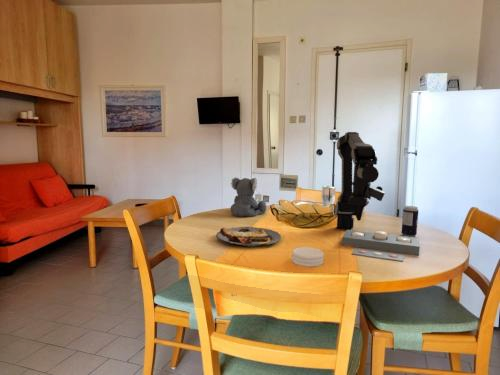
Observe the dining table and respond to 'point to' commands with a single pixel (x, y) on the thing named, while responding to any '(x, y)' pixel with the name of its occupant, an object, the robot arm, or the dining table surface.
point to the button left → (358, 234)
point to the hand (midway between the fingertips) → (359, 220)
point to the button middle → (380, 235)
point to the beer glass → (328, 195)
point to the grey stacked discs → (307, 257)
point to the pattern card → (378, 254)
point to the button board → (381, 242)
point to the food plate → (248, 236)
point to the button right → (403, 240)
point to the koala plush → (246, 198)
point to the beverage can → (409, 221)
